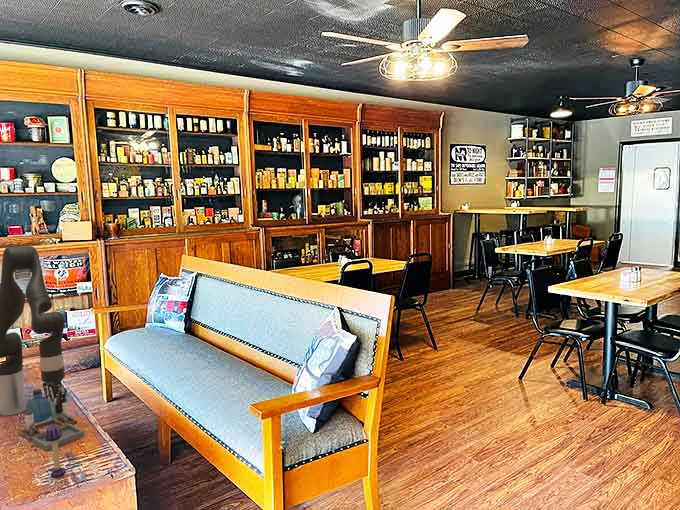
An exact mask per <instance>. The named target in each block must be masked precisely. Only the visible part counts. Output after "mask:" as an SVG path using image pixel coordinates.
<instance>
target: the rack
mask: <svg viewBox="0 0 680 510" xmlns="http://www.w3.org/2000/svg"><path fill="white" fill-rule="evenodd" d="M54 423H55V424H54ZM50 424H51V425H57V426H58V427H62V426H65V425H67V424H72V425H74V426H76V425H78V419H75V418H73V417H71V416H69V423H66V424H64V423H62V422H61V417H59V418H51V419H50V420H47V421H46V420H45V421H43V422H41V423H37V424H36V425H35V424H34V426H35V435H34V436H31V437H29V436H27V435H26V434H25V433H26V428H24V429H21V430H19V431H18V430H17V433H18V436H19V437H20V436H21V437H20V438H22V437H23V438H22V439H24V438H25V439H26V440H25V439H24V440H25V441H27V440H28V441H27V442H29V443H31V442H33V440H32V438H33V437H35V436H38V435H41V434H43V433H46V431H47V430H45V431H41V430H39V428H40V429H42V428H45V427H48V426H50ZM75 424H76V425H75ZM47 425H48V426H47ZM44 426H45V427H44ZM30 441H31V442H30Z"/></svg>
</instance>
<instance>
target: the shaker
mask: <svg viewBox="0 0 680 510" xmlns="http://www.w3.org/2000/svg"><path fill="white" fill-rule="evenodd" d="M50 407H51V417H50V418H51V419H55V418H59V417H61V416H62V415H63V413H60V414H56V411H55V402H54V399H53V398H52V397H50Z"/></svg>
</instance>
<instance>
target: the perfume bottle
mask: <svg viewBox="0 0 680 510" xmlns="http://www.w3.org/2000/svg"><path fill="white" fill-rule="evenodd" d="M27 410H33V416H34V423H37V422H41V423H43V422H45V421H46V420H48V419H50V418H52V417H51V411H50V402H49V401H48V399H46V396H44V395H43V390H42V388H37V389H34V390H32V398H31V399H29V401H28V402H27V403H26V410H25V411H27ZM49 417H50V418H49ZM44 420H45V421H44ZM42 421H43V422H42Z"/></svg>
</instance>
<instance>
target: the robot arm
mask: <svg viewBox="0 0 680 510" xmlns="http://www.w3.org/2000/svg"><path fill="white" fill-rule="evenodd" d="M1 259H2V260H1V274H0V359H3V358H6V359H5V361H2V362H1V363H0V415H1V416H5V417H6V416H13V415H18V414H21V413H24V412H25V411H26V406H27V401H26V392H25V381H24V371H23V365H24V364H23V363H24V359H23V342H22V337H21V336H20V334H18V332H14V331H13V332H9V333H8V331H9V330H10V329H11V327H12V326H13V325H14V324H15V323H16V322H17V321H18V319H19V318H20V317H21V316H22V314H23V313H24V309H25V308H24V307H25V303H26V301H27V304H28V305H29V309H30V313H31V314H30V315H31V316H30V317H31V320H30V322H31V323H30V327H31V331H33V333H35V334H37V335H43V334H47V333H51V334H50V335H49V336H48V337H45V338H43V339H42V340H40V341H39V342H38V349H39V367H40V377H41V382H43V383H41V385H42V387H43V391H44V395H45V396H44V397H46V399H48V401H49V402H50V397H52V398H53V399H54V402H55V411H56V414H60V413H62V412H63V408H62V403H63V402H65V400H66V399H67V391H68V390H67V388H66V387H64V388H63V384H62V380H63V379H64V378H65V377H66V372H65V371H66V370H65V361H64V360H65V359H64V355H63V348H62V347H63V346H62V339H63V334H64V328H65V323H66V318H65V316H64V315H63V313H62V312H61V311H56V310H55V311H51V312H48V311H50V310H51V309H52V307H53V302H52V300H51V297H50V295H49V292H48V290H47V287H46V284H45V279H44V274H43V269H42V265H41V260H40V256H39V253H38V251H37V249H36V248H35V247H34V246H31V245H21V246H20V245H19V246H18V245H17V246H16V245H14V246H7V247H5V248H4V250H3V254H2V258H1ZM28 270H29V271H30V273H31V277H30V279H29V281H28V283H27V285H26V288H25V293H24V291H23V289H22V288H21V286H20V285H18V283H17V281H16V280H15V277H14V274H15V272H16V271H28ZM50 411H51V407H50Z"/></svg>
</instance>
